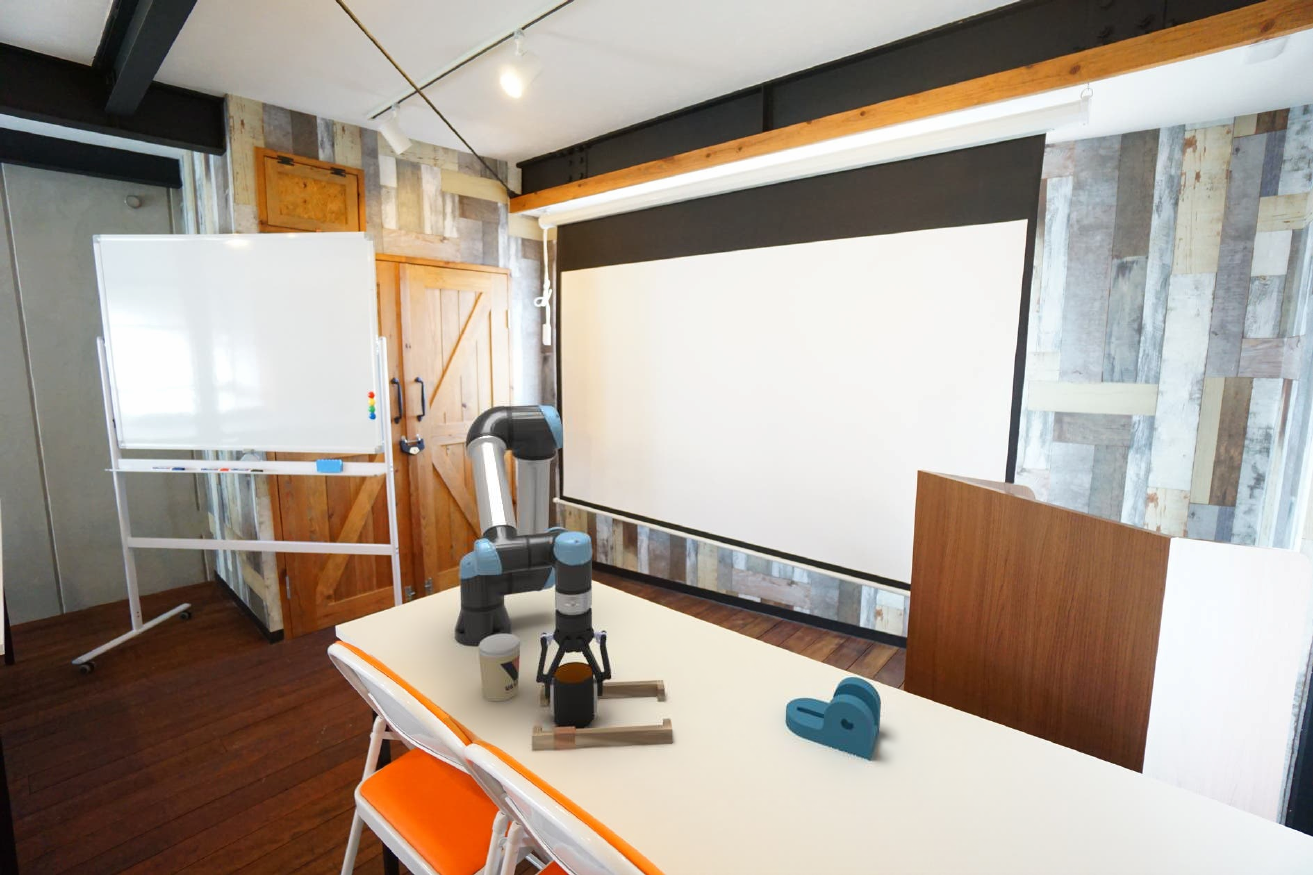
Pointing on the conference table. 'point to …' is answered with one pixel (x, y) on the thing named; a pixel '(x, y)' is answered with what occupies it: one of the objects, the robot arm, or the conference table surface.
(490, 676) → the coffee cup
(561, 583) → the robot arm
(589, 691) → the mug
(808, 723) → the camera mount
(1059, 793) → the conference table surface
